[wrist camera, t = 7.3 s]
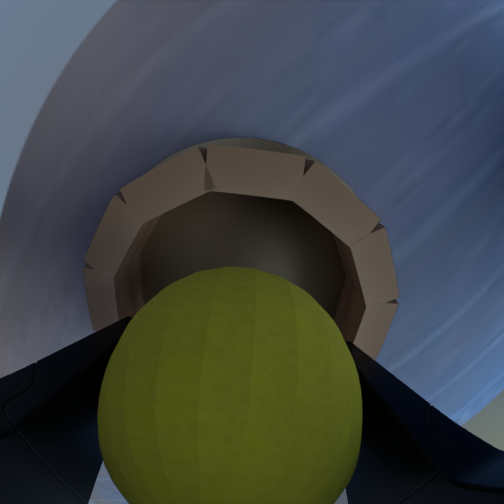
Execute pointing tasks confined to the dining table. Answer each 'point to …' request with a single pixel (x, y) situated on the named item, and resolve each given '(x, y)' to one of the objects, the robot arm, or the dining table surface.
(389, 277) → the wooden bowl
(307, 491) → the lemon
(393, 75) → the dining table surface
